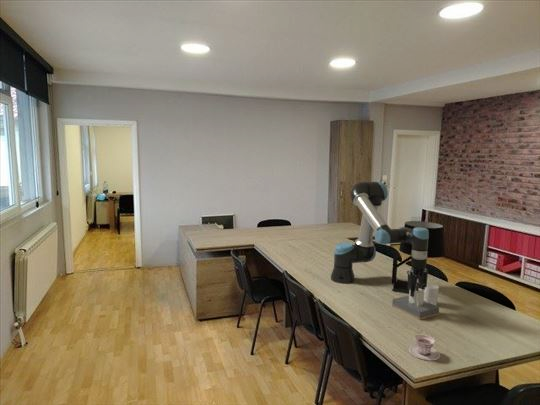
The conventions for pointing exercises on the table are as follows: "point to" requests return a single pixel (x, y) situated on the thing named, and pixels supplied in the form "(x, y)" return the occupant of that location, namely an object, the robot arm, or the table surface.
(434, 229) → the table lamp
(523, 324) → the table surface
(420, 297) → the plug
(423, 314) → the socket box
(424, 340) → the teacup
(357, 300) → the table surface
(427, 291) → the white cup
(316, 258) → the table surface
